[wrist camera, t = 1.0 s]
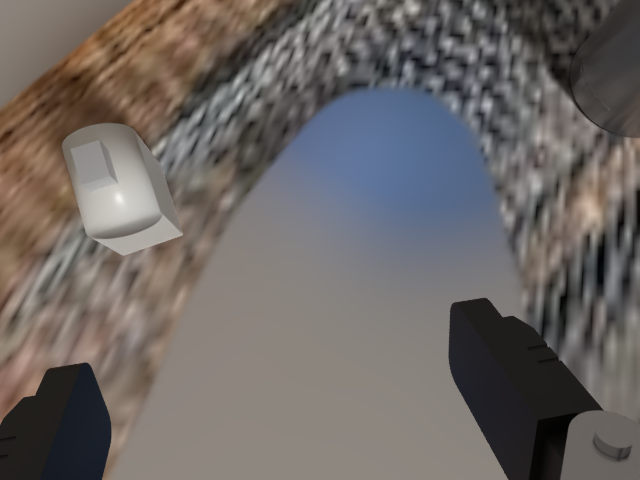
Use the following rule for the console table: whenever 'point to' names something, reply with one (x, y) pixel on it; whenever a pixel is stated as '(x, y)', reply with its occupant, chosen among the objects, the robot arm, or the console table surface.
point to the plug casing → (119, 188)
